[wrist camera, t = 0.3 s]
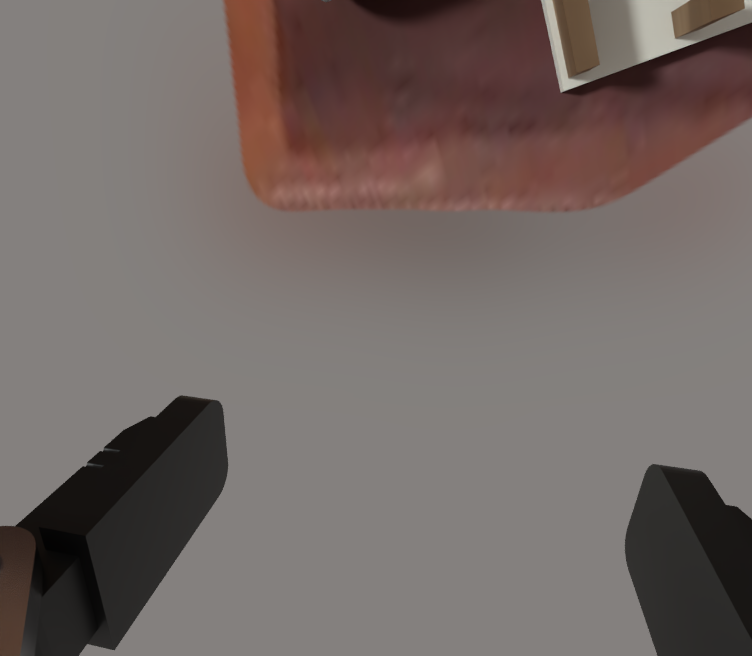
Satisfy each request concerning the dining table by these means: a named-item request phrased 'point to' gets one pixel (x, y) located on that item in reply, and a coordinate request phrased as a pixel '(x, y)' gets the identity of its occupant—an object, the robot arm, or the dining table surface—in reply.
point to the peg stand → (632, 34)
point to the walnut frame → (578, 36)
